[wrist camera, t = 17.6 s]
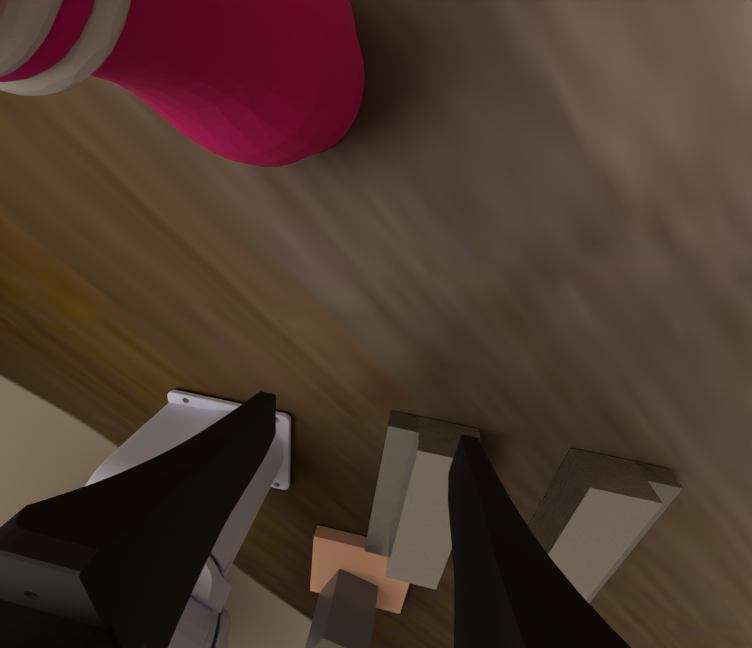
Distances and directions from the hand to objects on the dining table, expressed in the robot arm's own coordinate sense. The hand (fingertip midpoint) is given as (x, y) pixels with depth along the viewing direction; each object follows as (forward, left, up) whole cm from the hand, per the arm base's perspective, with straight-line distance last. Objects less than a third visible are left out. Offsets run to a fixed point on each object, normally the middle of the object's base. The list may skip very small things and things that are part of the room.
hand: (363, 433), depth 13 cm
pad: (+1, -25, -8) cm, 26 cm away
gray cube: (0, -27, -7) cm, 28 cm away
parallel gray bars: (+10, -13, -8) cm, 18 cm away
